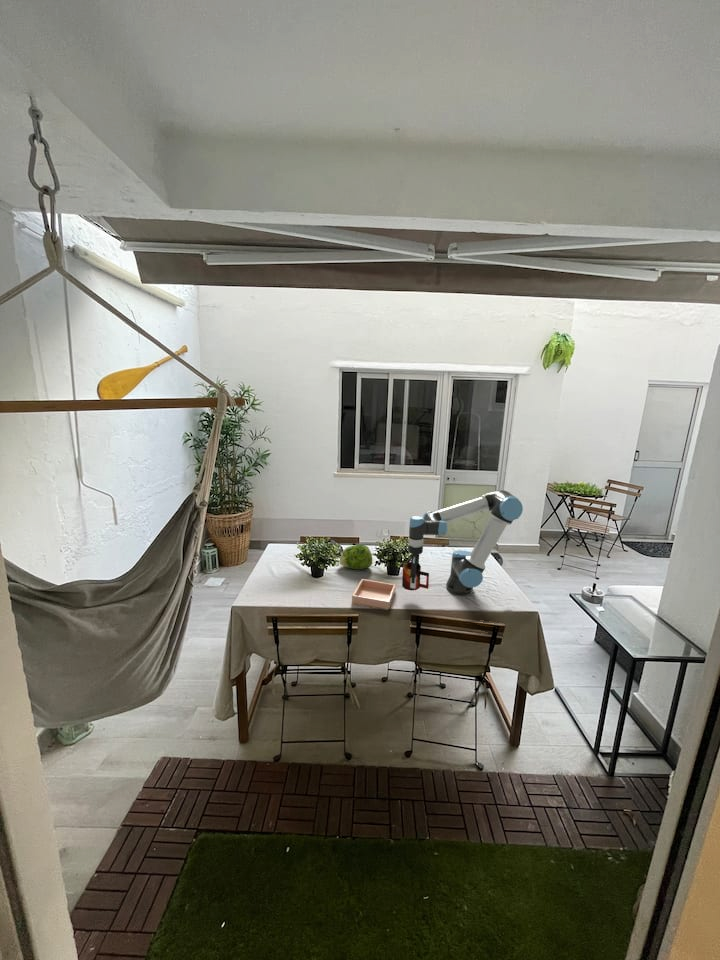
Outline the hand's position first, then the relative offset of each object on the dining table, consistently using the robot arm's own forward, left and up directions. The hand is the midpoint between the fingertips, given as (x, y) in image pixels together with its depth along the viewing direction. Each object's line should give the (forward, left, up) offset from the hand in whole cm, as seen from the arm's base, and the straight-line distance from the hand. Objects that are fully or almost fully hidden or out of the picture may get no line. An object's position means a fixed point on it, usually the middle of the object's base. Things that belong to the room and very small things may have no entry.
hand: (414, 583), depth 222 cm
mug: (0, 0, -2) cm, 2 cm away
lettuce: (+41, -28, -10) cm, 50 cm away
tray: (+21, +5, -10) cm, 23 cm away
